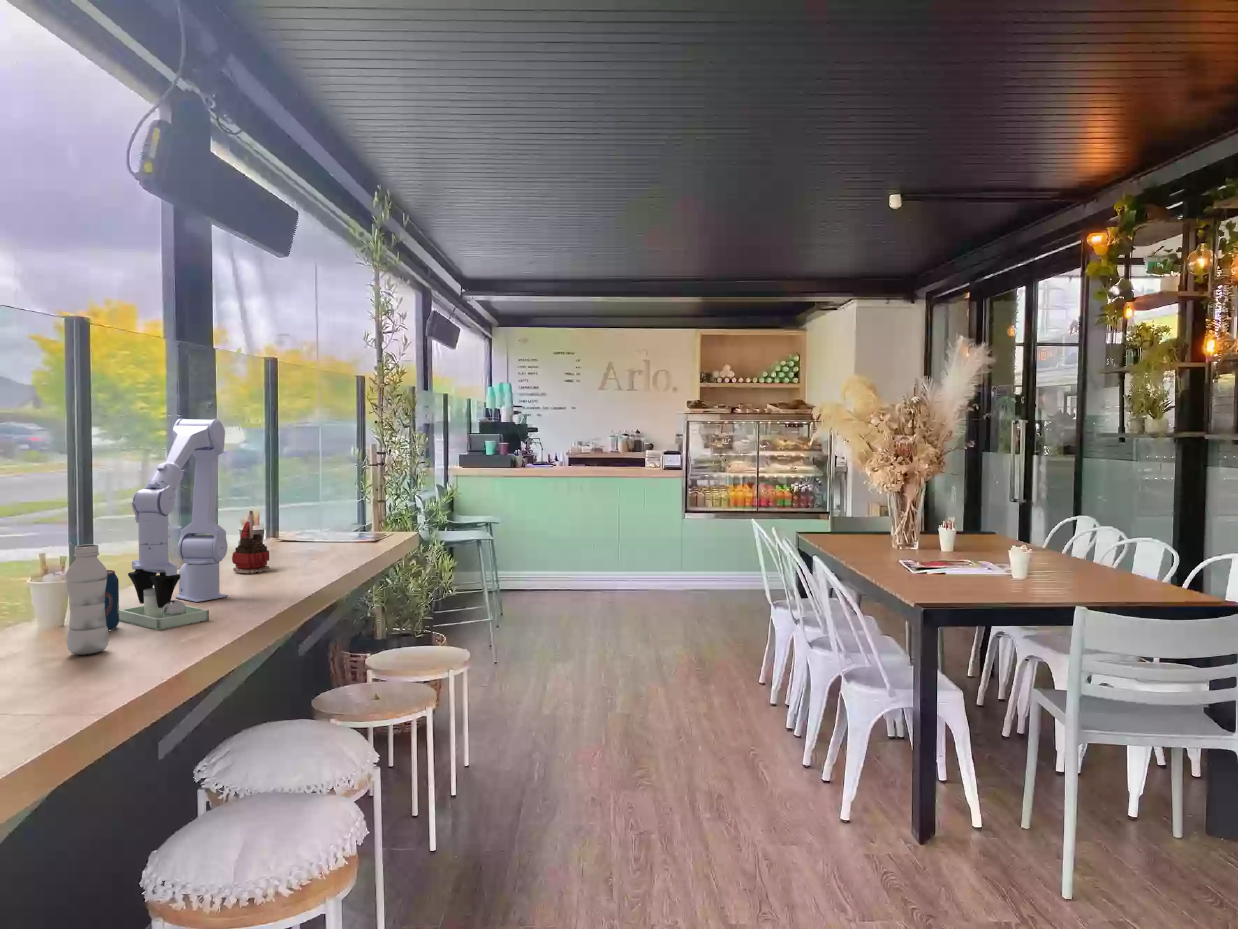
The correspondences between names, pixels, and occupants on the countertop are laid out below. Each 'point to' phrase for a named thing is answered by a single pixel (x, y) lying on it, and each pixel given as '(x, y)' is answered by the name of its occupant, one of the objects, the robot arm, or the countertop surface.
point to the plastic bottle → (87, 602)
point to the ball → (173, 608)
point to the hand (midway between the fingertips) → (154, 604)
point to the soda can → (112, 600)
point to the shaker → (151, 604)
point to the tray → (138, 617)
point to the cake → (250, 551)
